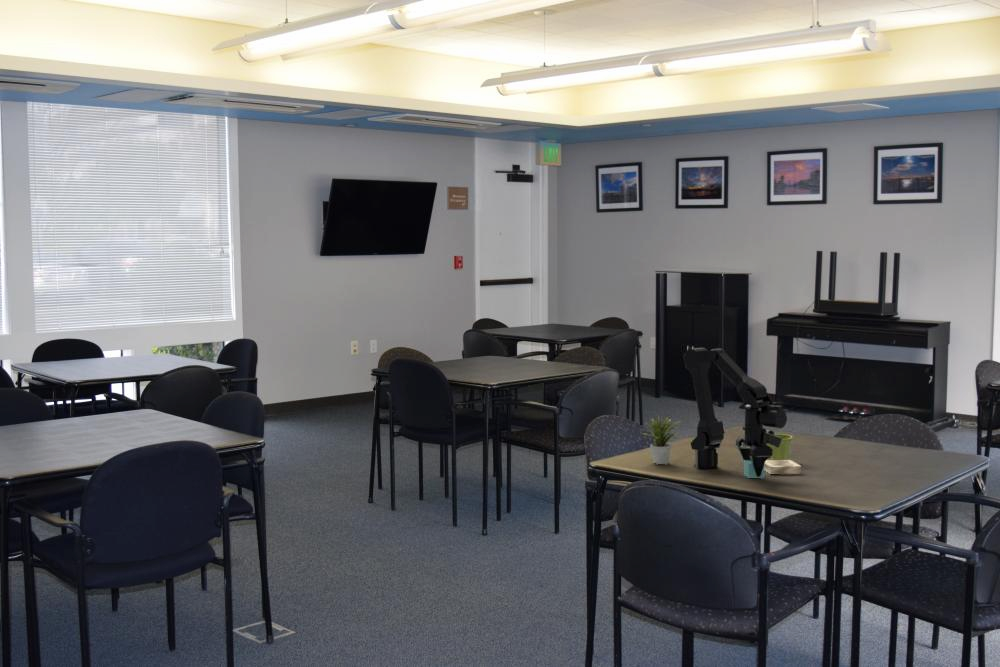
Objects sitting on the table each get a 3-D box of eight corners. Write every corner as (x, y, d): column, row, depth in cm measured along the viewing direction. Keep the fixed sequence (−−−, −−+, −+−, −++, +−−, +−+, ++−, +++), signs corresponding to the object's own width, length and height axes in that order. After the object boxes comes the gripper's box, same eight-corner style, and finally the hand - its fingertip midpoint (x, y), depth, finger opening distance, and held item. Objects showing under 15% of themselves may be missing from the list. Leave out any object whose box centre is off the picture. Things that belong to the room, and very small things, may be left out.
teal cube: (748, 479, 314) (748, 463, 314) (743, 475, 319) (743, 460, 319) (764, 478, 315) (764, 462, 314) (759, 475, 319) (759, 459, 319)
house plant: (679, 469, 329) (679, 420, 328) (637, 467, 334) (637, 418, 332) (685, 460, 343) (685, 413, 341) (645, 458, 347) (645, 411, 346)
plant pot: (767, 464, 334) (767, 439, 333) (760, 459, 344) (760, 434, 343) (795, 464, 334) (795, 438, 333) (788, 458, 343) (788, 433, 343)
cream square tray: (770, 474, 319) (770, 466, 319) (760, 468, 329) (760, 460, 329) (801, 473, 320) (801, 465, 320) (790, 467, 330) (790, 459, 330)
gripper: (789, 428, 307) (789, 479, 308) (769, 418, 325) (769, 466, 327) (753, 429, 306) (753, 480, 307) (735, 419, 325) (735, 467, 326)
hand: (753, 473), depth 317 cm, fingers open, 9 cm apart
